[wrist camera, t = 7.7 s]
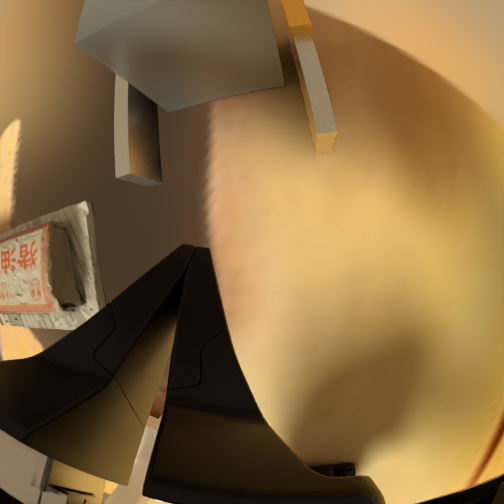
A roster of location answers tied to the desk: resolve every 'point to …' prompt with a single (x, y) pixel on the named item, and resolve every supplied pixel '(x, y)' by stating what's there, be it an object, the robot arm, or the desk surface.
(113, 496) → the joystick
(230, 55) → the grey rectangular block
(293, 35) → the rack bay
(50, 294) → the packaged product
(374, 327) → the desk surface
